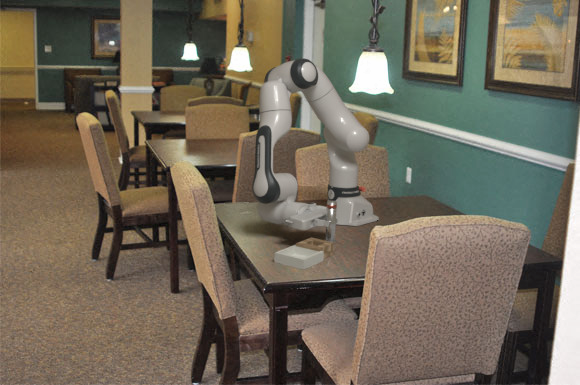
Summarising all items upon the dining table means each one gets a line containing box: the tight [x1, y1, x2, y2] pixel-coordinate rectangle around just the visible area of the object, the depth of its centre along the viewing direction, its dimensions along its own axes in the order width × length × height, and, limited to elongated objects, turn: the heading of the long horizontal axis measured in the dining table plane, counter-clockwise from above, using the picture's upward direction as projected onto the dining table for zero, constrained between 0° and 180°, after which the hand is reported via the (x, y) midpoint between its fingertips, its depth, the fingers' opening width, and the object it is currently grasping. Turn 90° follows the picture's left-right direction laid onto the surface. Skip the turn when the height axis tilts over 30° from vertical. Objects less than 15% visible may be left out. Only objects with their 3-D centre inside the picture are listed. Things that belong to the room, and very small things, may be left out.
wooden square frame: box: [295, 237, 335, 260], centre depth 212 cm, size 9×9×4 cm
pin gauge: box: [324, 200, 337, 250], centre depth 219 cm, size 3×3×16 cm
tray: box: [273, 244, 324, 271], centre depth 205 cm, size 11×11×3 cm
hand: (333, 222), depth 218 cm, fingers closed on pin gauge, 3 cm apart
